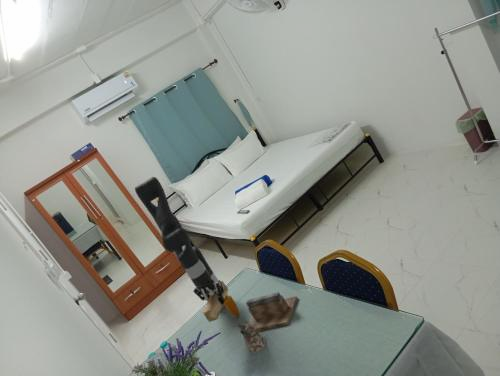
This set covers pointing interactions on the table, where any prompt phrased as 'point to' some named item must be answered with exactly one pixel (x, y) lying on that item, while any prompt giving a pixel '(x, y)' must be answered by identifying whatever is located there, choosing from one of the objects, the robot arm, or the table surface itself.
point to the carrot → (231, 306)
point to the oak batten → (214, 305)
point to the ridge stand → (271, 311)
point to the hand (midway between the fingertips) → (218, 304)
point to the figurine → (251, 338)
